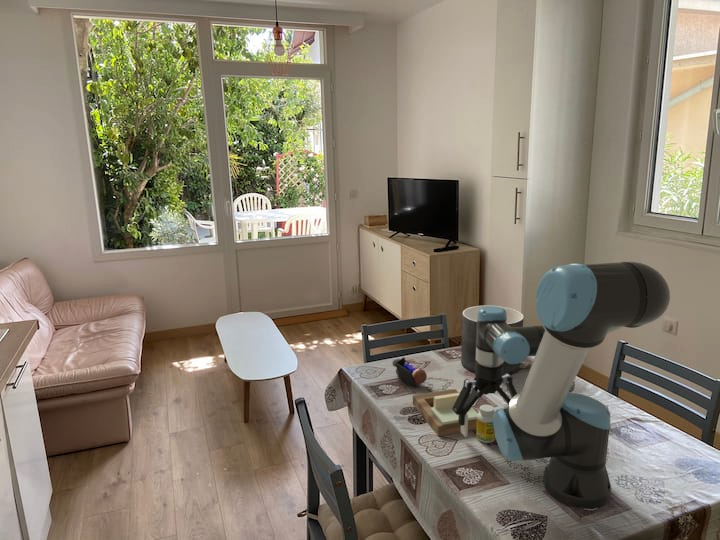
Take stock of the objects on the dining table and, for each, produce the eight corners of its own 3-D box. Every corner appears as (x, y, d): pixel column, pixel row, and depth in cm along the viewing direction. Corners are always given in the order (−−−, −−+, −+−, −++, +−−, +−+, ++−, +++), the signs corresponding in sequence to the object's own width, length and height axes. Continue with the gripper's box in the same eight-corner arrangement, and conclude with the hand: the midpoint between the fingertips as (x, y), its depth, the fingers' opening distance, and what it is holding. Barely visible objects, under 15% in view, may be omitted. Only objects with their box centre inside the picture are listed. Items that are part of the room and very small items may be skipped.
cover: (480, 418, 151) (480, 405, 150) (442, 424, 148) (443, 411, 147) (466, 404, 159) (466, 391, 158) (430, 409, 156) (430, 397, 155)
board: (484, 427, 152) (485, 418, 151) (438, 436, 148) (438, 426, 147) (454, 397, 171) (455, 388, 170) (412, 403, 167) (412, 395, 166)
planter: (510, 382, 181) (513, 328, 176) (451, 368, 193) (453, 317, 188) (527, 360, 199) (530, 311, 194) (473, 349, 211) (475, 302, 206)
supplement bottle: (485, 431, 150) (486, 401, 148) (499, 439, 146) (501, 408, 144) (472, 436, 147) (473, 406, 145) (486, 445, 143) (487, 414, 141)
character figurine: (404, 372, 191) (428, 388, 178) (388, 375, 187) (411, 392, 174) (406, 352, 189) (430, 367, 176) (389, 355, 186) (413, 370, 173)
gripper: (521, 351, 148) (516, 416, 153) (441, 361, 141) (439, 430, 147) (536, 361, 141) (531, 430, 146) (453, 373, 134) (451, 444, 140)
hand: (485, 430), depth 146 cm, fingers open, 13 cm apart
